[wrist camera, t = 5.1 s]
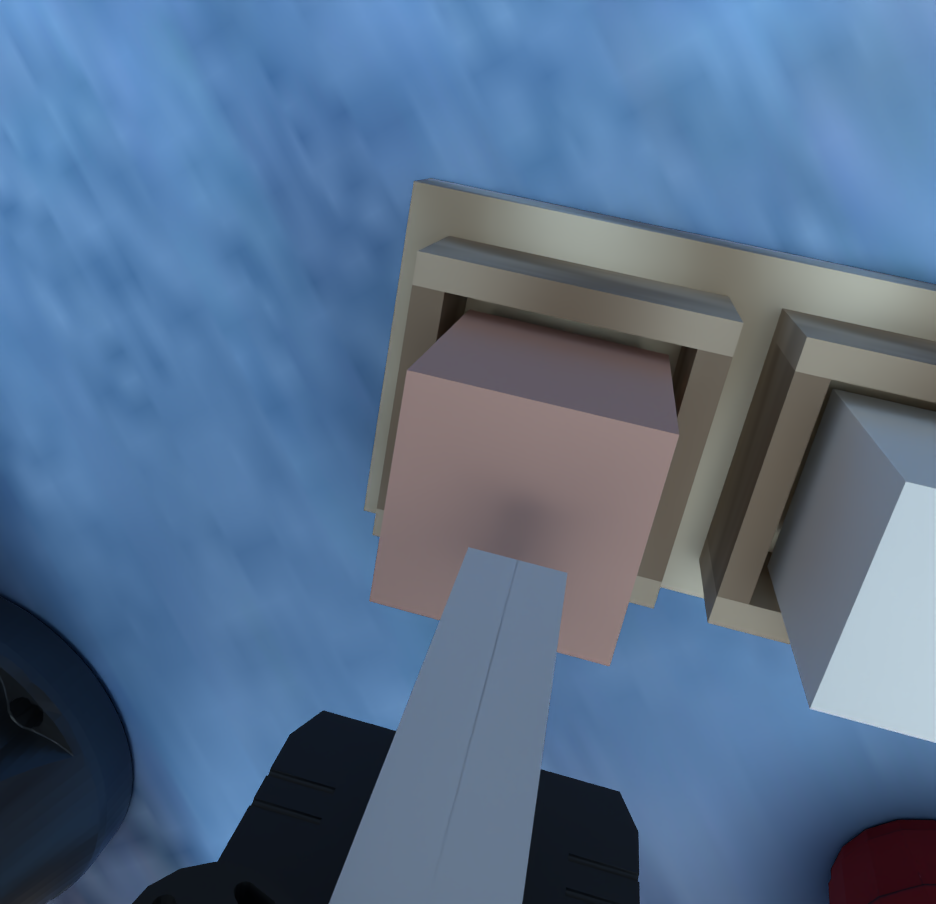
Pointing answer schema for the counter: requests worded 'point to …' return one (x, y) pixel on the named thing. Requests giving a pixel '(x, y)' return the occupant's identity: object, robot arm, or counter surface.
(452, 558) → the terracotta key
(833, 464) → the ivory key
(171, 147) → the counter surface
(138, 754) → the counter surface
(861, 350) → the beige slotted block
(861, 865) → the plastic cup
